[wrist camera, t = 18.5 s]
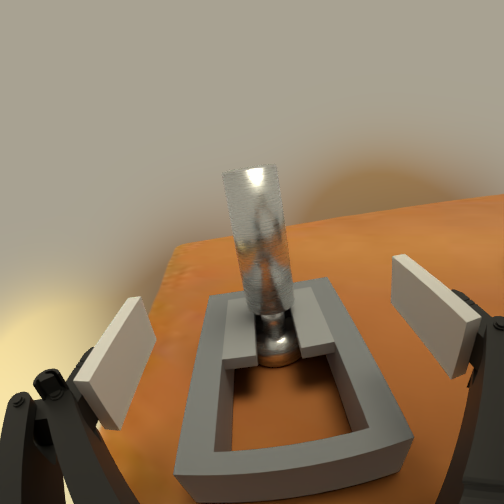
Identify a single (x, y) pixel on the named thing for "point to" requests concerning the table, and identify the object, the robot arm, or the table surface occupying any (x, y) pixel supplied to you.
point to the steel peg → (263, 259)
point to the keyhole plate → (297, 455)
